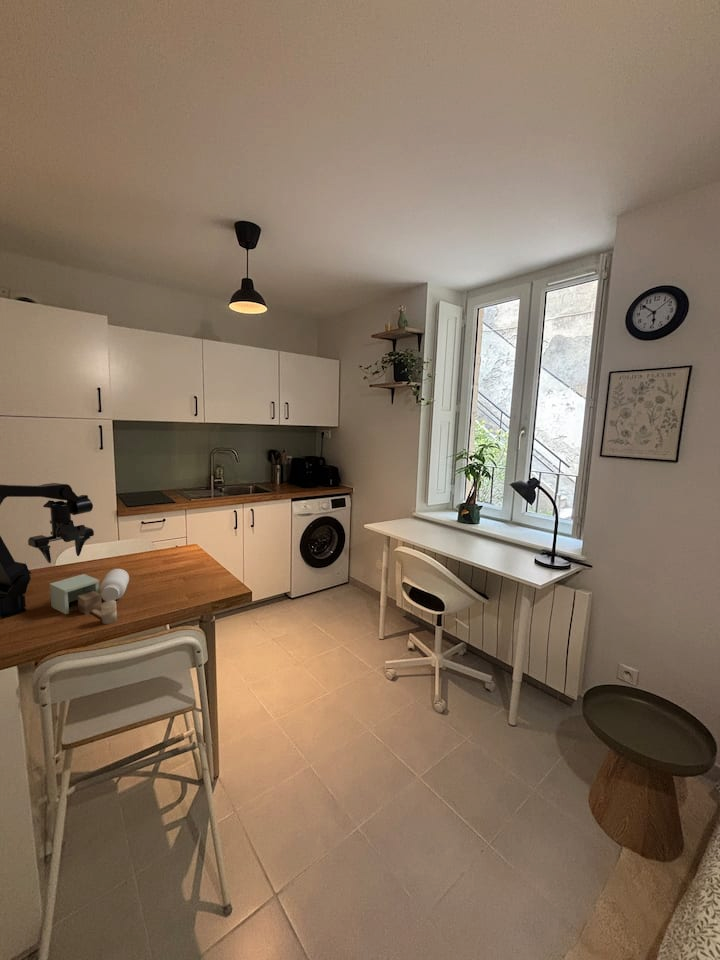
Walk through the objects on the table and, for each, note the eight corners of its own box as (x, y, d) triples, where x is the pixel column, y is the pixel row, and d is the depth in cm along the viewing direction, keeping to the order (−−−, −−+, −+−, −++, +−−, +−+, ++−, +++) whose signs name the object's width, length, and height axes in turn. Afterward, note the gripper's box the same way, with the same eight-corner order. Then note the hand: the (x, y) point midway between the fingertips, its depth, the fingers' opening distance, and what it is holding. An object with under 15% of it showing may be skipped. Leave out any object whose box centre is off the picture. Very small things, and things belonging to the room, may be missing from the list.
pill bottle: (105, 589, 148) (96, 606, 135) (104, 569, 147) (96, 584, 134) (129, 587, 152) (123, 603, 138) (129, 567, 151) (123, 581, 137)
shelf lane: (66, 614, 129) (64, 590, 128) (51, 607, 134) (49, 583, 133) (100, 602, 138) (99, 580, 137) (85, 595, 143) (83, 573, 142)
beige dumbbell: (104, 625, 123) (103, 607, 122) (78, 610, 132) (77, 593, 131) (121, 619, 127) (120, 602, 126) (94, 604, 136) (93, 588, 136)
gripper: (41, 526, 131) (44, 571, 133) (100, 516, 147) (103, 556, 149) (25, 521, 136) (29, 565, 139) (84, 512, 152) (87, 551, 155)
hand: (64, 559), depth 145 cm, fingers open, 9 cm apart
